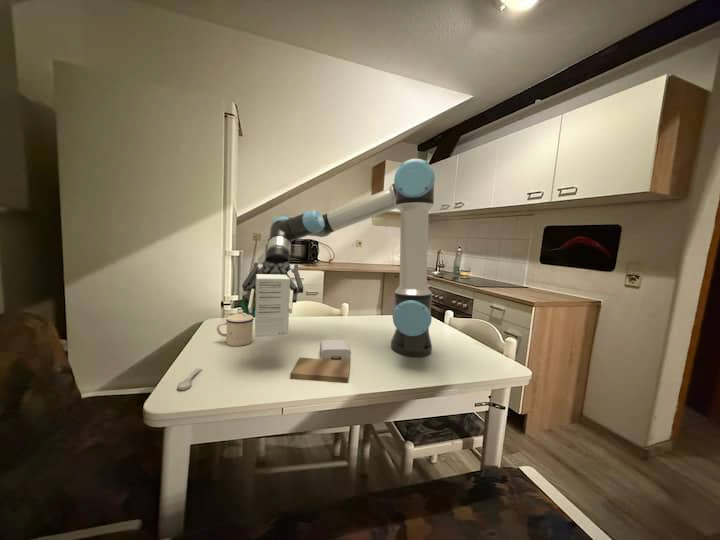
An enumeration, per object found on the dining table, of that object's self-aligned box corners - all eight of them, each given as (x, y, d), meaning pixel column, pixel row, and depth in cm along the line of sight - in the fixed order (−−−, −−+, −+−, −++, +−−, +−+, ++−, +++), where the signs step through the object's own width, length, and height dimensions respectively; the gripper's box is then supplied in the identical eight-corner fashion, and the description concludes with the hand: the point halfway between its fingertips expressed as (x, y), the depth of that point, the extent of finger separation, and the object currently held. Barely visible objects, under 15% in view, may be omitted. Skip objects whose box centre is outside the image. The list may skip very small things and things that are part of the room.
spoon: (174, 392, 70) (174, 384, 70) (193, 373, 82) (193, 366, 82) (187, 392, 70) (188, 384, 70) (204, 373, 82) (205, 366, 82)
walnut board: (349, 365, 91) (350, 361, 91) (347, 382, 80) (348, 377, 80) (299, 362, 91) (299, 357, 91) (290, 378, 80) (290, 373, 80)
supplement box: (254, 327, 90) (255, 273, 88) (285, 326, 93) (286, 274, 91) (255, 337, 81) (256, 278, 79) (288, 335, 84) (290, 278, 82)
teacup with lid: (253, 337, 110) (254, 307, 109) (252, 345, 102) (253, 313, 101) (218, 338, 106) (219, 307, 105) (214, 347, 98) (215, 314, 97)
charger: (343, 346, 108) (350, 363, 93) (318, 346, 106) (321, 364, 91) (344, 334, 107) (351, 349, 93) (319, 334, 106) (322, 349, 91)
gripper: (312, 262, 102) (310, 317, 88) (244, 259, 98) (230, 316, 84) (313, 247, 96) (311, 304, 82) (240, 244, 92) (225, 302, 79)
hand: (270, 310), depth 83 cm, fingers closed on supplement box, 10 cm apart
